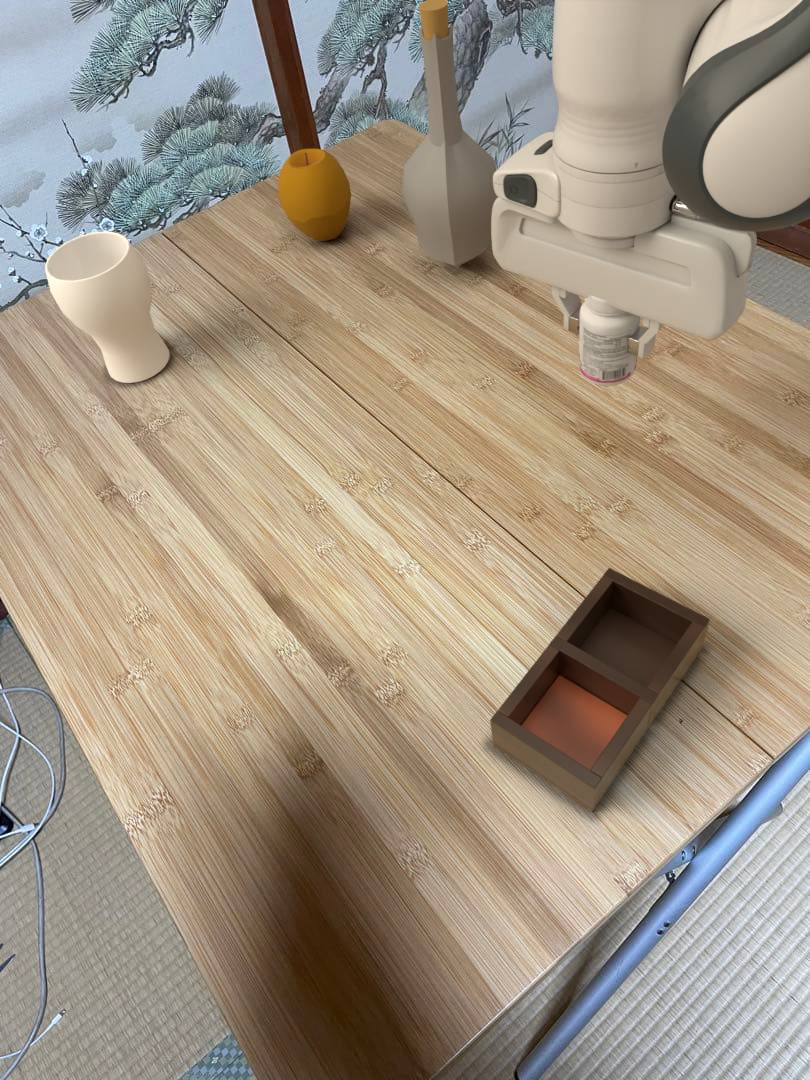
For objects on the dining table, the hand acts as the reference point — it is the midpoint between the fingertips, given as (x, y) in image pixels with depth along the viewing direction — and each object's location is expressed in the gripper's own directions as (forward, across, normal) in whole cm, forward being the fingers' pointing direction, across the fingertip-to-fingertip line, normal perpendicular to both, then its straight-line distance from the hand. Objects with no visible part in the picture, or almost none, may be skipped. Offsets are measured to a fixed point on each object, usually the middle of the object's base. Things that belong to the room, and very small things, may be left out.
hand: (607, 340), depth 69 cm
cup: (+16, +56, +14) cm, 61 cm away
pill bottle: (+3, 0, 0) cm, 3 cm away
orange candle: (+17, +55, -18) cm, 60 cm away
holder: (+17, -13, +20) cm, 29 cm away
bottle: (+17, +34, -21) cm, 43 cm away
